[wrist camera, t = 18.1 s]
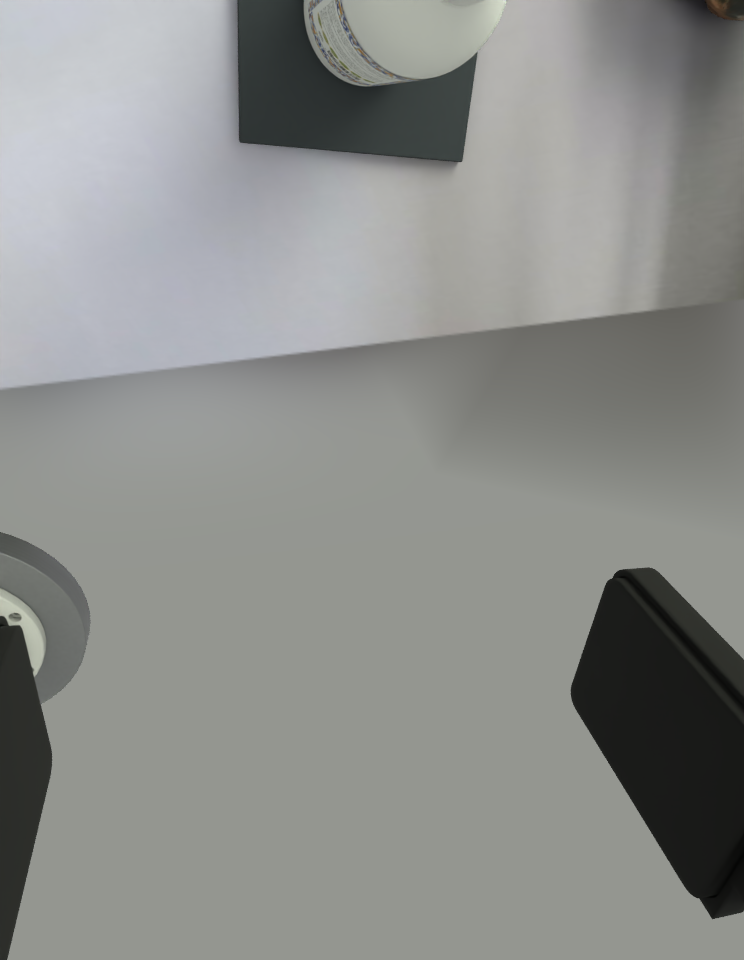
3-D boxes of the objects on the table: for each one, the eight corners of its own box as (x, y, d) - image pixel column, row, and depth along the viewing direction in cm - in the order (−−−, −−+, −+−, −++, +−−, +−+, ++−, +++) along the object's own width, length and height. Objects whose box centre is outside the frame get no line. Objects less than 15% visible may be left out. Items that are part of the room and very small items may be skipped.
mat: (459, 161, 41) (462, 162, 41) (239, 141, 38) (239, 142, 37) (499, -126, 34) (503, -130, 34) (235, -180, 31) (235, -185, 31)
